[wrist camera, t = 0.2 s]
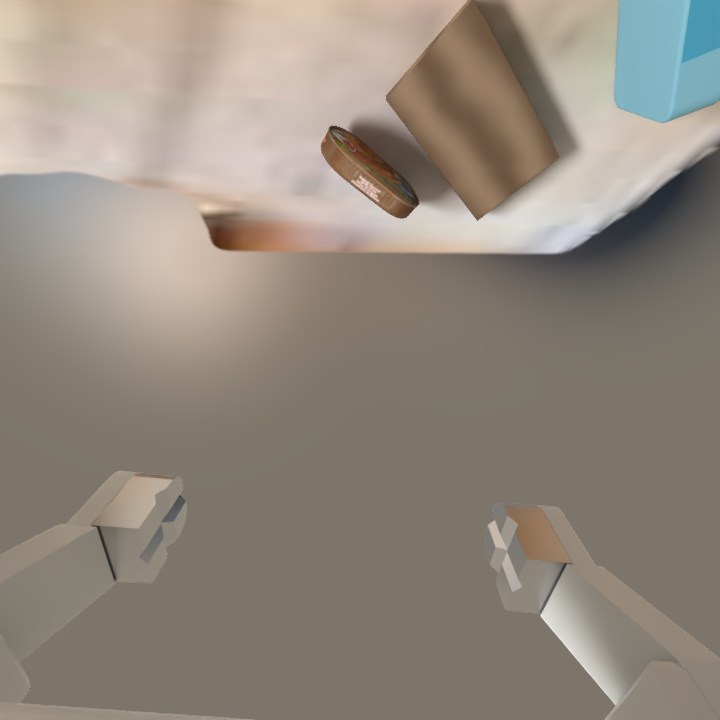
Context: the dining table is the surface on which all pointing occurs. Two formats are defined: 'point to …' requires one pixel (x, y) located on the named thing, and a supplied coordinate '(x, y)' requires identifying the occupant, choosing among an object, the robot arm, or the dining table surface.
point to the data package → (667, 57)
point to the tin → (368, 172)
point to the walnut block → (472, 114)
